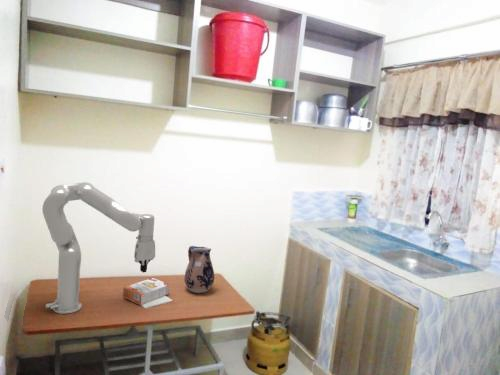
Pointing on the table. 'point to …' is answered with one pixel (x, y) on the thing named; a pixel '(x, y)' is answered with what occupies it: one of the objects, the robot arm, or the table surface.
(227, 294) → the table surface
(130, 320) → the table surface
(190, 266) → the ceramic pitcher
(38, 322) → the table surface
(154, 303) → the mat
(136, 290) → the cracker box
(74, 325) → the table surface
